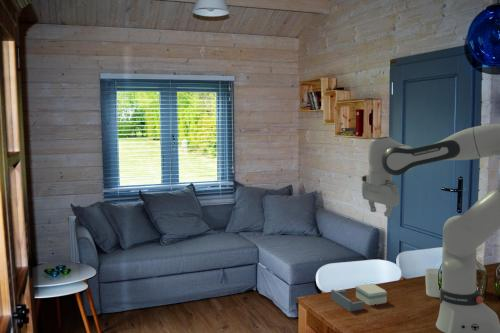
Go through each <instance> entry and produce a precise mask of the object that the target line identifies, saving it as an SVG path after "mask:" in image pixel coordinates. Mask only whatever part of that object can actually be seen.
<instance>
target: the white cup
mask: <svg viewBox="0 0 500 333" xmlns="http://www.w3.org/2000/svg"><path fill="white" fill-rule="evenodd" d="M439 269H440V268H427V269H425V270H424V271H425V272H424V273H425V277H424V278H425V279H424V280H425V293H426V295H427V296H428V297H431V298H437V299H438V298H440V290H439V285H438V270H439Z"/></svg>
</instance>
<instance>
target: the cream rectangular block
mask: <svg viewBox="0 0 500 333" xmlns="http://www.w3.org/2000/svg"><path fill="white" fill-rule="evenodd" d="M387 295H388V292H387V291H386V290H385V289H384V288H382V287H380V286H378V285H376V284H375V283H365V284H359V285H355V298H357V299H358V300H360V301H361V300H362V301H364V302H365V303H364V304H366V305H367V306H369V305H370V306H375V304H376V305H380V304H386V303H387V300H388V299H387Z"/></svg>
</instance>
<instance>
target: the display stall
mask: <svg viewBox="0 0 500 333" xmlns="http://www.w3.org/2000/svg"><path fill="white" fill-rule="evenodd" d="M330 296H331V297H330V300H332V301H333V302H334V303H336V304H338V305H339V306H341V307H342V308H344V309H345V310H346V311H348V312H350V313H351V312H355V311H362V310H365V303H364V301H361V300H360V301H358V300H357V301H355V302H353V301H352V300H351V299H350V298H347V290H346V289H343V290H335V289H331V290H330Z"/></svg>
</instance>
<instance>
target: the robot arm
mask: <svg viewBox="0 0 500 333" xmlns="http://www.w3.org/2000/svg"><path fill="white" fill-rule="evenodd" d="M492 156H493V157H494V156H497V157H500V123H490V124H489V123H487V124H482V125H477V126H473V127H468V128H466V129H463V130H460V131H458V132H454V133H453V134H451V135H449V136H447V137H446V138H445V137H444V139H441V140H439V141H437V142H434V143H431V144H427V145H422V146H418V147H413V146H410V145H406V144H403V143H401V142H398V141H396V140H394V139H392V138H391V137H390V136H381V137H376V138H373V139H371V140H370V142H369V145H368V159H367V160H368V163H369V167H368V172H367V174H364V175H362V176H361V179H360V180H361V182H362V184H361V195H362V198H363V200H366V201H368V205H369V207H370V210H369V211H370V212H372V213H376V212H377V207H376V206H375V203H376V204H381V205H384V206H385V211H384V213H383V215H384V217H386V218H388V217H389V218H390V217H391V214H392V210H393V207H398V206H399V205H400V193H399V192H400V191H399V188H398V185H397V184H396V182H395V181H393V176H400V175H404V174H405V173H406V172H408V171H410V170H412V169H413V168H415V167H417V166H422V165H426V164H431V163H435V162H440V161H441V162H442V161H443V162H444V161H470V160H478V159H482V158H487V157H492ZM499 229H500V184H499V185H498V186H497V187H495V188H493V189H492V190H491V191H489V192H488V193H487V194H485V195H484V196H483V197H481V198H480V199H479V200H477V201H476V202H475V203H474V204H473V205H472V206H471V207H469V209H467V210H466V211H465V212H464V213H463V214H461V215H453V216H451V217H449V218H448V219H447V220H446V221H445V222H444V225H443V228H442V238H441V239H442V253H441V254H442V256H441V257H442V259H441V270H442V286H441V288H440V297H439V303H440V306H439V311H438V317H437V320H436V323H435V327H436V328H437V329H438V330H439V331H440V332H442V333H500V319H499V317H498V314H497V313H496V312H495V311H494V310H493V309H491V308H490V307H489V306H487V305H486V304H485V303H484V302H483V301H484V299H483V293H482V291H478V290H477V249H478V248H479V247H480V246H482V245H483V244H484V243H485V242H486V241H487V240H489V239H490V237H492V236H493V235H494V234H496V232H497V231H498V230H499Z"/></svg>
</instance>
